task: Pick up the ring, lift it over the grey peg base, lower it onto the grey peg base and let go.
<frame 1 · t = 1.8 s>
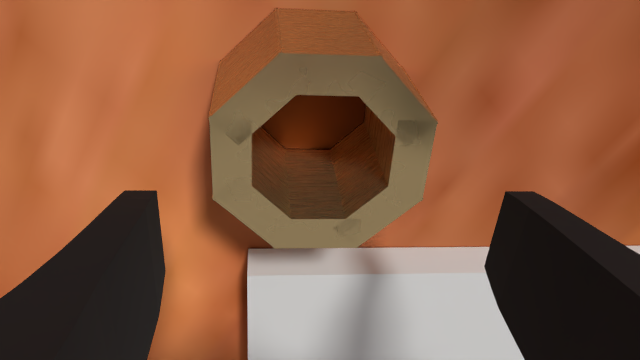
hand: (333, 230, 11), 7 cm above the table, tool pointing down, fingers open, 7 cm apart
ring: (310, 99, 17), on the table
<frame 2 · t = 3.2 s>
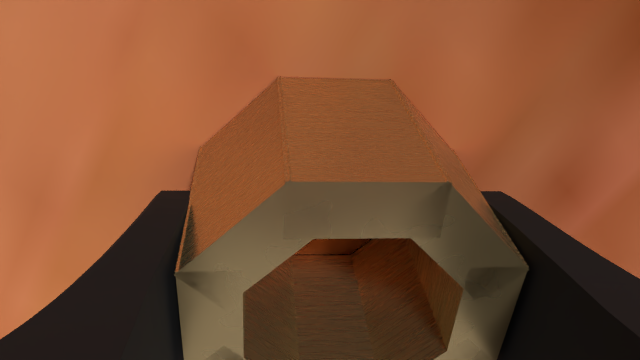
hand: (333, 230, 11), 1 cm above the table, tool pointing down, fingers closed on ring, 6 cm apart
ring: (326, 194, 12), on the table, touching gripper
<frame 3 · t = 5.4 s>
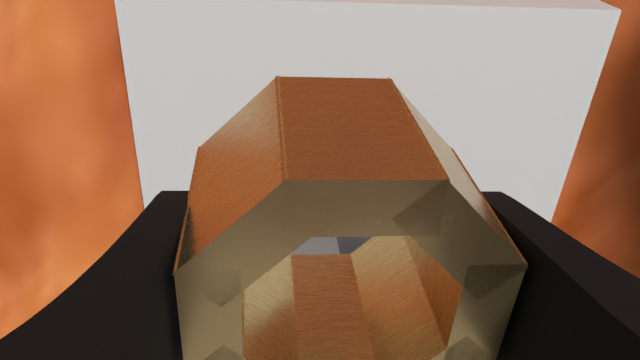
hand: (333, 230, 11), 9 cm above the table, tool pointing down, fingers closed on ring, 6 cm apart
grey peg base: (352, 193, 22), on the table
ring: (325, 193, 12), point 8 cm above the table, touching gripper
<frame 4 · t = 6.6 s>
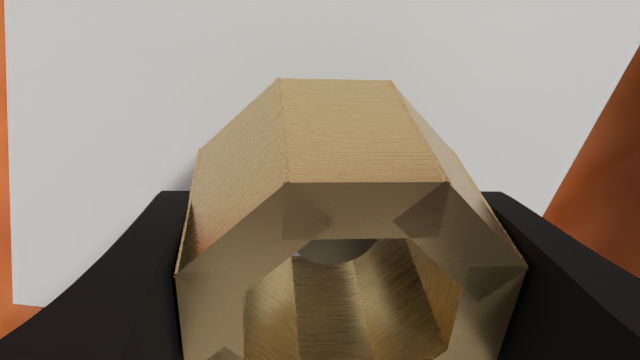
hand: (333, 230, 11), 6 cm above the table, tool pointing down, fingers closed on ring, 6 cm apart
grey peg base: (311, 110, 16), on the table
ring: (325, 194, 12), point 5 cm above the table, touching gripper
when the fingers open (4 cm above the table, at t = 7.7 s): ring stays where it is, resting on grey peg base.
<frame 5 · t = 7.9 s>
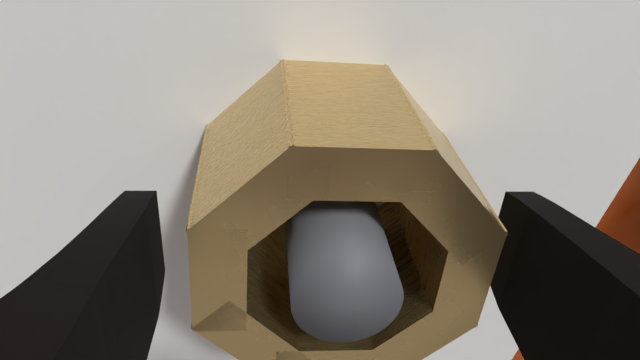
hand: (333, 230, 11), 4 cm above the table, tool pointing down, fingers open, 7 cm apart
grey peg base: (316, 144, 15), on the table
ring: (323, 172, 13), point 1 cm above the table, touching grey peg base
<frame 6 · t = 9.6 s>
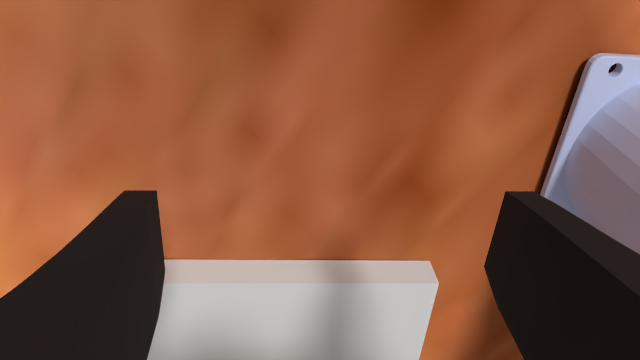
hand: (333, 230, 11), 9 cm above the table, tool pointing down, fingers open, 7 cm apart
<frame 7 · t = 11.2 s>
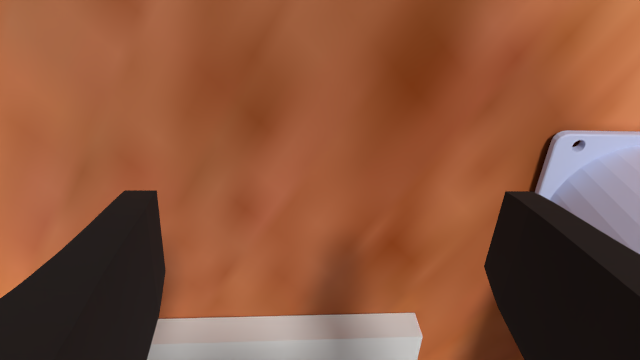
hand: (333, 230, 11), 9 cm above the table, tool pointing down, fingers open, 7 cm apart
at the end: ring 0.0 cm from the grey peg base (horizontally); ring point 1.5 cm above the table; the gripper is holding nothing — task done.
